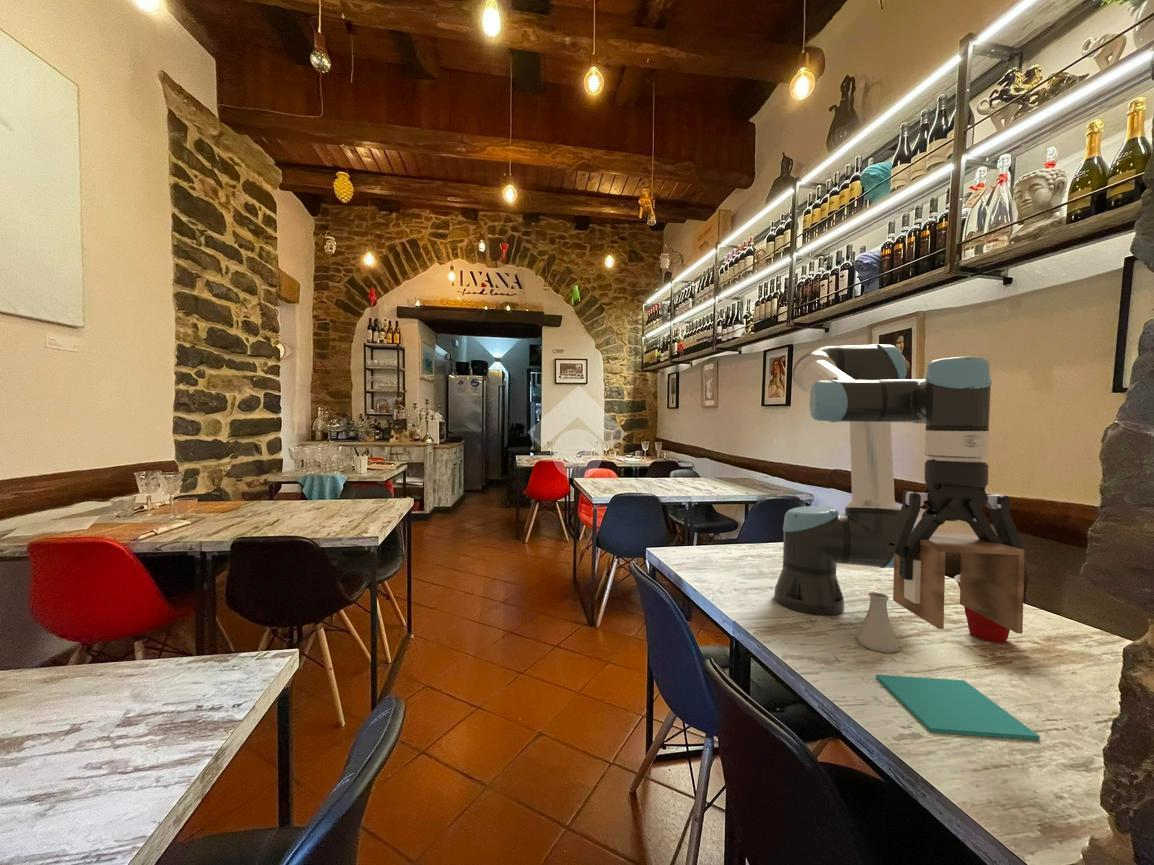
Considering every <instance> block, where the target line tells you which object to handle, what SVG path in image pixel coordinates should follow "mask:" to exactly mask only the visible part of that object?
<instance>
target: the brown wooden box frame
mask: <svg viewBox="0 0 1154 865" xmlns="http://www.w3.org/2000/svg"><path fill="white" fill-rule="evenodd" d="M1024 552H1025V549H1024V550H1022V549H1018V548H1015V547H1011V546H1008V545H1005V544H1001V543H991V542H988V541H984V540H981V539H979V538H978V537H977V535H973V534H971V533H967V532H947V531H946V532H945V531H935V532H934V533H933V535H932V536H931V537H930V539H929V540H921V550H920V552H919V553H918V555H917V556H916V557H915V559H917V560H920V561H921V579H920V604H915V603H913V602H911V601H910V600H908V599H906V598H904V578H902V577H900V574H899V568H900V567H899V561H900V558H899V556H898V555H897V554H895V553H894V568H893V585H892V586H893V587H892V589H893V591H892V592H893V594H892V596H893V597H892V600H893V602H894V603H896V604H897V605H900V606H901V607H902V608H904V609H906V610H908V611H909V612H911V613H912V614H913V615H916V617H919V618H920V619H922V620H923V621H925V622H926V623H928V624H930V625H931V626H933V627H935V628H936V629H938V630H944V628H945V624H944V623H945V587H946V585H945V583H946V582H945V580H946V553H958V554H959V553H960V573H959V575H960V587H959V605H960V606H962V607H966V608H968V609H970V610H972V611H974V612H976V613H978V614H980V615H982V616H984V617H986V618H988V619H990V620H992V621H994V622H996V623H998V624H1000V625H1002V626H1004V627H1006V628H1008V629H1010V631H1012V632H1013V633H1015V634H1023V632H1024V631H1023V630H1024V628H1023V627H1024V625H1023V623H1024V587H1025V585H1024V583H1025V582H1024V581H1025V580H1024V579H1025V559H1024Z"/></svg>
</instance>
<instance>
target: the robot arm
mask: <svg viewBox="0 0 1154 865" xmlns="http://www.w3.org/2000/svg"><path fill="white" fill-rule="evenodd" d="M990 365H991V364H990V362H989V361H988V360H987V359H986V358H984V357H980V356H957V357H955V356H954V357H947V358H945V357H944V358H939V359H934V360H932V361H930V362H929V363H928V365H927V369H926V375H925V378H921V379H917V378H915V379H913V378H911V379H909V378H907V377H906V376H907V365H906V360H905V357H904V354H903V352H902V351H901V349H899V348H898V347H897V346H895V345H892V344H879V343H878V344H877V343H874V344H861V345H859V344H857V345H856V344H855V345H830V346H829V345H827V346H824V347H823V346H822V347H819V348H816V349H813V350H811V351H808V352H806V353H804V354H803V355H802V356H801V357H799V359H798V360H797V361H796V362H795V363H794V366H793V370H792V378H793V381H794V383H795V384H796V386H797V387H798V388H799V389H800V390H801V391H803V392H805V393H809V411H810V415H811V418H812V419H813V420H815V421H818V422H819V421H820V422H829V423H836V422H837V423H838V422H842V423H843V422H844V423H845V422H847V423H849V443H850V470H851V472H850V475H851V476H850V477H851V500H850V502H849V503H848V504H847V505H845V510H844V513H839V511H838V509H837V508H836V507H834V506H825V505H823V506H822V505H810V506H808V505H807V506H805V505H804V506H798V507H793V508H791V509H788V510H787V511H786V512H785V514H784V519H783V526H782V531H783V548H782V549H783V552H782V557H783V558H782V569H781V572H780V575H779V577H778V579H777V582H776V584H775V588H774V600H775V601H776V602H777V603H778V604H780V605H781V606H783V607H785V608H788V609H791V610H794V611H796V612H801V613H805V614H811V615H821V616H831V615H832V616H833V615H837V614H841V613H842V612H843V611H844V610H845V600H844V596H843V595H844V594H843V591H842V590H841V586H840V583H839V581H838V577H837V564H843V565H854V566H855V565H856V566H863V567H865V566H866V567H875V568H879V569H886V568H888V569H894V553H895V554H897V555H898V556H899V558H900V561H899V567H900V568H899V574H900V577H902V578H904V598H906V599H908V600H910V601H911V602H913V603H915V604H920V579H921V561H920V560H917V559H915V557H916V556H917V555H918V553H919V552H920V550H921V540H929V539H930V537H931V536H932V535H933V533H934V532H937V531H936V530H937V529H938V528H939V527H940V526H942V525H943V524H945V522H946V521H947V522H956V521H962V522H965V523H967V524H968V526H970V528H971V529H972V531H973V532H974V534H975V536H977V537H978V538H979V539H981V540H984V541H988V542H991V543H1001V544H1005V545H1008V546H1011V547H1015V548H1018V549H1022V550H1024V560H1025V559H1026V557H1027V555H1026V552H1025V549H1024V546H1023V544H1022V542H1021V539H1020V536H1019V533H1018V530H1017V528H1016V525H1015V521H1014V520H1013V517H1012V514H1011V509H1010V508H1011V507H1010V506H1011V498H1010V497H1009V496H1008V495H1003V494H998V493H997V494H996V493H990V494H987V493H986V492H987V491H986V488H987V486H988V485H989V464H987V462H985V461H984V459H987V458H989V453H990V452H989V448H990V443H989V440H990V439H989V438H990V410H991V408H990V407H991V386H992V384H993V382H992V379H991V369H990V368H991V366H990ZM906 378H907V379H906ZM892 423H912V424H925V438H924V439H925V440H924V441H925V443H924V455H925V456H926V457H929V459H926V461H925V462H924V482H925V489H924V491H923V492H914V491H909V490H908V491H907V490H905V491H904V492H903V493H902V506H900V505H899V504H897V502H896V499H895V497H896V496H895V483H894V481H895V480H894V478H895V477H894V462H893V461H894V460H893V457H894V456H893V440H892ZM924 502H925V503H926V505H927V507H926V508H925V510H924V511H923V513H922V514H921V519H920V520H919V521H918V523H917V524H915V523H916V522H917V519H918V517H919V514H920V511H921V507H922V506H924V505H925V503H924ZM985 506H986V507H987V508H988V513H989V516H990V518H991V522H992V525H993V526H994V529H995V531H994V529H993V528H992V526H991V525H990V524H989V523H990V521H989V519H988V516H986V514H985V513H984V511H983V508H984V507H985Z"/></svg>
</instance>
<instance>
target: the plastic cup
mask: <svg viewBox="0 0 1154 865" xmlns="http://www.w3.org/2000/svg"><path fill="white" fill-rule="evenodd" d="M953 579H954V580H955V581H956V582H957V585H958V587H959V588H960V574H957V575H955V576H954V577H953ZM963 607H964V606H963ZM964 614H965V617H966V621H967V622H966V623H967V628H968V630H969V634H970V635H971V636H973V637H974V638H977V639H979V640H982V641H985V642H989V643H995V644H1005V643H1006V642H1007V641H1008V638H1009V635H1010V631H1011V630H1010V629H1008V628H1006V627H1004V626H1002V625H1000V624H998V623H996V622H994V621H992V620H990V619H988V618H986V617H984V616H982V615H980V614H978V613H976V612H974V611H972V610H970V609H968V608H966V607H964Z"/></svg>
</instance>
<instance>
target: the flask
mask: <svg viewBox="0 0 1154 865" xmlns="http://www.w3.org/2000/svg"><path fill="white" fill-rule="evenodd" d="M868 596H869V598H870V599H869V607H868V609H867V613H866V615H865V617H864V619H863V621H862V623H861V625H860V627H859V630H858V631H857V633H856V635H855V639H856V641H857V643H858V644H860V645H862V646H863V647H865V648H867V649H868V650H871V651H875V652H883V653H887V654H889V653H896V652H901V648H900V645H899V643H898V640H897V637H896V635H895V633H894V632H895V631H894V630H893V626H892V624H891V621H890V618H889V613H888V606H887V605H888V604H887V602H888V601H889V599H890V598H889V596H888V595H887V594H884V593H882V592H875V591H872V592H871V591H870V592H868Z"/></svg>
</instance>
